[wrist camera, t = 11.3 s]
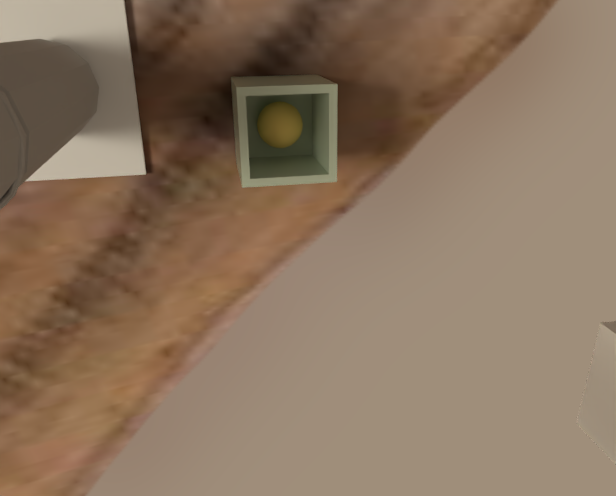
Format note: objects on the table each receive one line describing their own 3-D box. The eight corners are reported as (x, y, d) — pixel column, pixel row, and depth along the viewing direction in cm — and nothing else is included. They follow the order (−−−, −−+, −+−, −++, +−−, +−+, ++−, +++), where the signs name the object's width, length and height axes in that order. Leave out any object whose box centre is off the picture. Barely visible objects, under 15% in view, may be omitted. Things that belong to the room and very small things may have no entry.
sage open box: (230, 76, 44) (236, 87, 37) (315, 74, 46) (337, 84, 38) (236, 162, 47) (242, 187, 40) (316, 158, 48) (336, 181, 41)
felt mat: (-85, -11, 39) (-88, -12, 38) (122, -12, 41) (122, -13, 40) (-35, 182, 44) (-37, 184, 44) (146, 172, 46) (145, 174, 46)
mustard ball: (254, 99, 44) (258, 105, 41) (298, 98, 45) (306, 103, 42) (256, 144, 46) (260, 153, 42) (299, 142, 46) (306, 151, 43)
